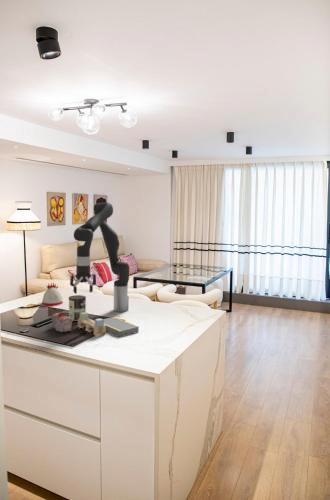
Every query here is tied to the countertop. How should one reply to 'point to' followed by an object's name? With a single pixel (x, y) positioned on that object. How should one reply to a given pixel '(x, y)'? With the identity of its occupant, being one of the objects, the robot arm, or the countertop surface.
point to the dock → (120, 327)
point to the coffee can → (76, 306)
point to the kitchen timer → (52, 296)
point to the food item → (61, 322)
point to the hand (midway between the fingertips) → (83, 292)
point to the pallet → (92, 327)
